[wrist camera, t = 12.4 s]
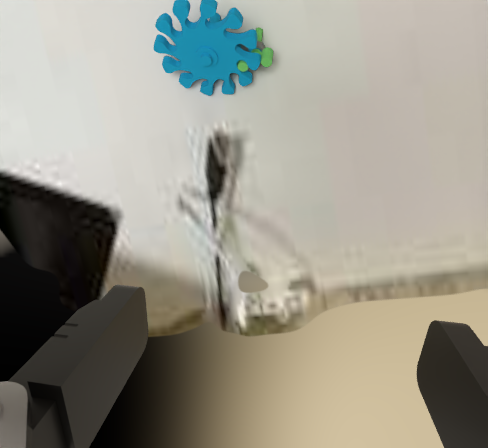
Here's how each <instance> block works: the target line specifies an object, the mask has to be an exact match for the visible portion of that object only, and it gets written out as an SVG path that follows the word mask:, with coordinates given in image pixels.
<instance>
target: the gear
mask: <svg viewBox="0 0 488 448" xmlns="http://www.w3.org/2000/svg"><path fill="white" fill-rule="evenodd" d="M216 9H217V2H216V1H215V0H202V1H201V5H200V11H201V17H200V18H199V20H198V21H197V22H195V23H193V22H190V21H189V20H188V19H187V17H188V14H189V11H190V3H189V1H188V0H176V1H175V2H174V6H173V13H174V15H175V16H176V17H177V18H178V20H179V21H180V23H181V26H182V31H176V30H175V29H174V28H173V25H172V19H171V17H170V16H169V15H168V14H167V13H164V14H162V15H161V16H160V17H159V18H158V19H157V22H156V25H155V26H156V28H157V29H158V30H159V31H160V32H162V33H164V34H166V35H167V36H169V37H170V38H171V39H172V40H173V42H174V43H175V45H176V46H173V45H171V44H170V43H169V42H168V41H167V39H166V38H165V37H164V36H162V35H157V37H156V40H155V43H154V51H156V52H158V53H166V54H170V55H172V56H174V57H176V58H177V59H179V60H180V61H177V60H175V59H173V58H172V57H169V56H165V57H164V59H163V63H162V65H163V68H164V70H165V72H166V73H172V72H174V71H178V70H184V71H189V72H191V73H185V72H184V73H181V75H180V78H179V82H180V84H181V85H183V86H184V87H185V88H190V87H191V85H192V83H193V82H194V81H196V80H198V79H206V80H207V81H203V82H202V84H201V89H200V92H202V93H204V94H206V95H209V96H210V95H212V93H213V88H214V85H213V84H214V82H215V81H216V80H218V79H222V80H224V82H223V85H222V93H223V94H234V89H235V84H234V83H233V81H232V80H231V78H230V74H231V73H236V74H238V75H239V83H240V85H241V86H246V85H248V84H250V83H251V82H252V77H253V76H252V73H251V72H249V71H247V70H248V67H249V68H250V69H251V70H256V69H257V68H258V67H259V65H260V62H261V64H262V65H263V66H264V67H269V66H271V64H272V58H273V50H272V49H271V48H268V47H267V48H265V45H264V44H263V43H262V42H261V41H262V34H263V30H262V29H261V28H257V29H256V30H248V31H247V32H244V33H239V34H237V33H230V32H228V31H226V29H227V28H231V29H239V28H240V27H241V26H242V22H243V17H242V15H241V13H240V12H239V11H238V10H237V9H236V8H232V9H230V10H229V12H228V14H227V16H226V17H225V18H224V19H223V20H221V21H220V15H219V14H218V13H216ZM208 18H210V20H209V21H208V20H207V19H208Z"/></svg>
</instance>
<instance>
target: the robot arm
mask: <svg viewBox="0 0 488 448" xmlns="http://www.w3.org/2000/svg"><path fill="white" fill-rule="evenodd" d="M147 338H148V322H147V311H146V300H145V292H144V289H143V288H142V287H133V286H124V285H115V286H114V287H113V288H112V289H111V290H110V291H109V292H108V293H107V294H106V295H105V296H104V297H103V299H102V300H94V301H93V302H91V303H89V304H87V305H86V306H84V307H82V308H81V309H79V310H77V311H76V312H75V314H74V315H73V316H72V317H71V318H70V319H69V320H68V321H67V322H66V323H65V326H62V327H61V328H60V329H59V330H58V331H57V332H56V333H55V336H54V337H51V338H50V339H49V340H48V341H47V342H46V343H45V344H44V345H43V346H42V347H41V348H40V349H39V350H38V351H37V352H36V354H34V356H33V357H32V358H31V359H30V360H29V361H28V362H27V363H26V364H25V365H24V366H23V367H22V368H21V369H20V370H19V371H18V372H17V373H16V374H15V375H14V376H13V377H12V378H11V379H10V380H9V381H8V382H0V448H89V446H90V444H91V442H92V441H93V439H94V437H95V436H96V434H97V432H98V430H99V429H100V427H101V425H102V423H103V422H104V420H105V418H106V416H107V415H108V413H109V411H110V409H111V408H112V406H113V404H114V402H115V401H116V399H117V397H118V395H119V393H120V392H121V390H122V388H123V386H124V385H125V383H126V381H127V379H128V378H129V376H130V374H131V373H132V371H133V369H134V367H135V366H136V364H137V362H138V360H139V359H140V357H141V355H142V353H143V351H144V349H145V346H146V343H147ZM417 382H418V386H419V389H420V392H421V394H422V397H423V399H424V401H425V404H426V406H427V408H428V411H429V413H430V415H431V418H432V420H433V422H434V425H435V427H436V429H437V432H438V434H439V436H440V439H441V441H442V443H443V446H444V448H488V346H484V345H483V344H482V342H481V341H480V340H479V338H478V337H477V336H476V334H475V333H474V332H473V330H472V329H471V328H470V327H469V326H468V325H466V324H463V323H454V322H445V321H433V322H431V324H430V326H429V329H428V332H427V335H426V338H425V342H424V345H423V348H422V351H421V355H420V358H419V361H418V365H417Z"/></svg>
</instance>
